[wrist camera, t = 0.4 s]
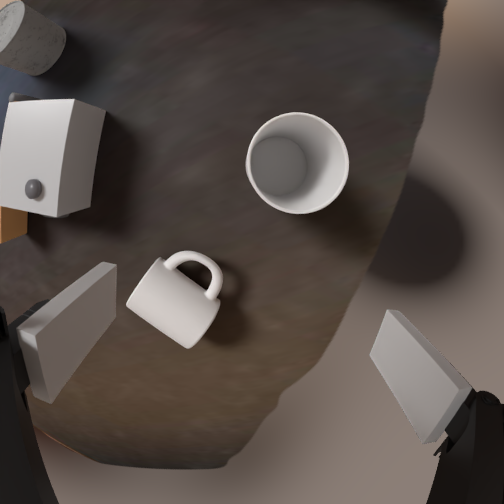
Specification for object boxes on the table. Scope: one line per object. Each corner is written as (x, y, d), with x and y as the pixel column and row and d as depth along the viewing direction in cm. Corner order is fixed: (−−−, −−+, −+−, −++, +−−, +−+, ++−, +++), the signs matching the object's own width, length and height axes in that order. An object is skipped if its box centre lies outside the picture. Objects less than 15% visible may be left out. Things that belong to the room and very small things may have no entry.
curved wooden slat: (36, 99, 33) (7, 93, 26) (44, 99, 33) (16, 92, 26) (20, 231, 39) (-8, 241, 32) (27, 233, 39) (-1, 244, 32)
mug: (191, 329, 44) (182, 359, 36) (137, 290, 42) (118, 314, 34) (240, 270, 42) (239, 293, 34) (182, 226, 40) (167, 240, 32)
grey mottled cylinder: (76, 31, 31) (35, 3, 19) (44, 82, 33) (-4, 66, 21) (44, 21, 29) (5, -2, 17) (15, 68, 31) (-29, 54, 19)
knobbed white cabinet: (44, 109, 34) (5, 101, 25) (106, 110, 35) (71, 98, 26) (31, 202, 38) (-9, 212, 28) (89, 213, 39) (52, 226, 29)
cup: (262, 207, 39) (274, 231, 24) (234, 151, 37) (228, 137, 22) (318, 181, 39) (364, 189, 23) (292, 125, 37) (323, 97, 21)
